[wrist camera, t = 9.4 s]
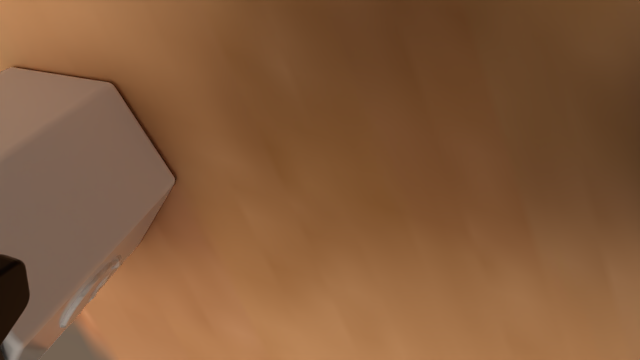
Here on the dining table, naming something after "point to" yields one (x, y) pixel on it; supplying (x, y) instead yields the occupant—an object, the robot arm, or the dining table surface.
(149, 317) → the dining table surface
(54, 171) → the jar
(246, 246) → the dining table surface
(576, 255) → the dining table surface
